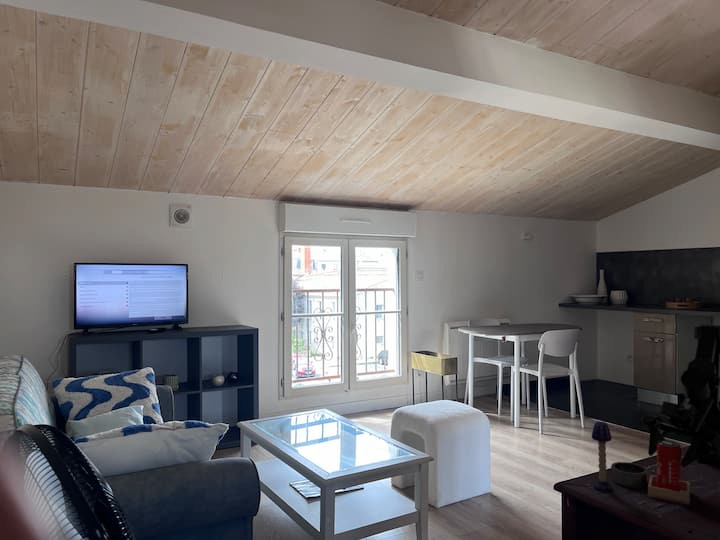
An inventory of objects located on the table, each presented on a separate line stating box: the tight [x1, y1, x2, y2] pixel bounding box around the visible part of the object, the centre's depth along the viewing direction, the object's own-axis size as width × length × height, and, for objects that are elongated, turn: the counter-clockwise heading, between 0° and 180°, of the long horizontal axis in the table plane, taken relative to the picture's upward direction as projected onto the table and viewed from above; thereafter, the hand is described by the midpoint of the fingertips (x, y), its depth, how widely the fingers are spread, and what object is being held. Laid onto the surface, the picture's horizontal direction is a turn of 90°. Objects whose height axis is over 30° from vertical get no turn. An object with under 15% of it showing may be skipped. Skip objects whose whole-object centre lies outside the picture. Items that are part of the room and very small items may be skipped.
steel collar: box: [610, 461, 649, 489], centre depth 143 cm, size 8×8×4 cm
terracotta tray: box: [647, 474, 691, 505], centre depth 135 cm, size 9×9×2 cm
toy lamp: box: [591, 421, 613, 493], centre depth 138 cm, size 5×5×17 cm
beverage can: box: [656, 439, 682, 491], centre depth 135 cm, size 5×5×12 cm
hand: (665, 460), depth 134 cm, fingers open, 8 cm apart
